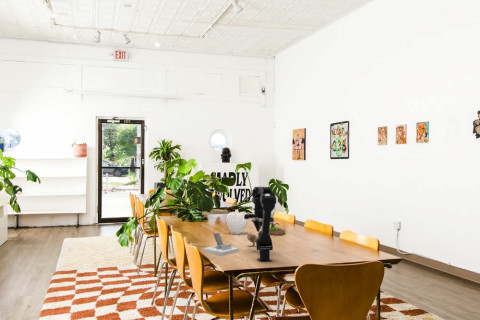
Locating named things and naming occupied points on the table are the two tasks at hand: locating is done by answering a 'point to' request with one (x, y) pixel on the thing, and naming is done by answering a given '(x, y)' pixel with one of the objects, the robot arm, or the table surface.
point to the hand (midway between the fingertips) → (258, 231)
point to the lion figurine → (252, 238)
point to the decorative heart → (237, 222)
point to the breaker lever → (218, 238)
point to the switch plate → (221, 249)
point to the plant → (275, 230)
